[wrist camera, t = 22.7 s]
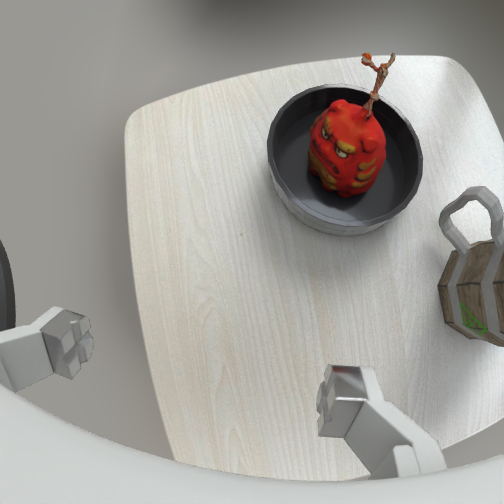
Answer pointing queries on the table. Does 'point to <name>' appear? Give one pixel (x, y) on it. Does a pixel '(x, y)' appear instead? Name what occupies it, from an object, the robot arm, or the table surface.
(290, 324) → the table surface
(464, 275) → the mug
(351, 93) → the pan
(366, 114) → the red clay folk toy
